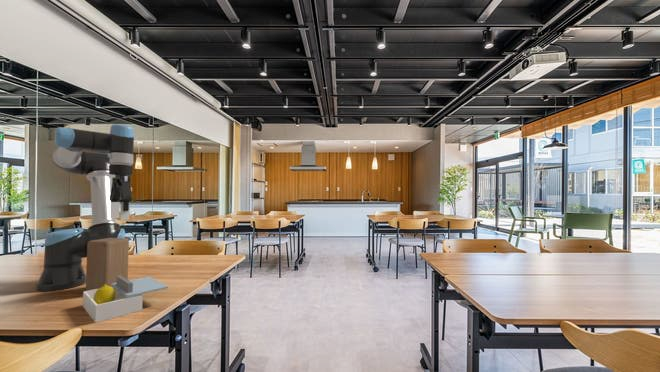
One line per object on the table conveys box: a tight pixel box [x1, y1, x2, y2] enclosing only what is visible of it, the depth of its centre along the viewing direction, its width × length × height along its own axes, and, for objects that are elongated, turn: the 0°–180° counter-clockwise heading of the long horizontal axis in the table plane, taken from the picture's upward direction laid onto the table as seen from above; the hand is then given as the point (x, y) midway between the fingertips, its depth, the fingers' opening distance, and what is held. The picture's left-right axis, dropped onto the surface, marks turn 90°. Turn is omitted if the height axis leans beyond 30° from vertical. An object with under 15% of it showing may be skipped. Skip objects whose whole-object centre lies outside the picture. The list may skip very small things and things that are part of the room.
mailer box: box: [82, 286, 144, 324], centre depth 94 cm, size 19×12×5 cm, turn 50°
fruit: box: [94, 284, 115, 305], centre depth 92 cm, size 6×6×8 cm
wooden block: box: [85, 237, 130, 291], centre depth 114 cm, size 10×10×20 cm
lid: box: [112, 275, 169, 297], centre depth 100 cm, size 19×12×4 cm, turn 50°
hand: (119, 219), depth 109 cm, fingers open, 13 cm apart
